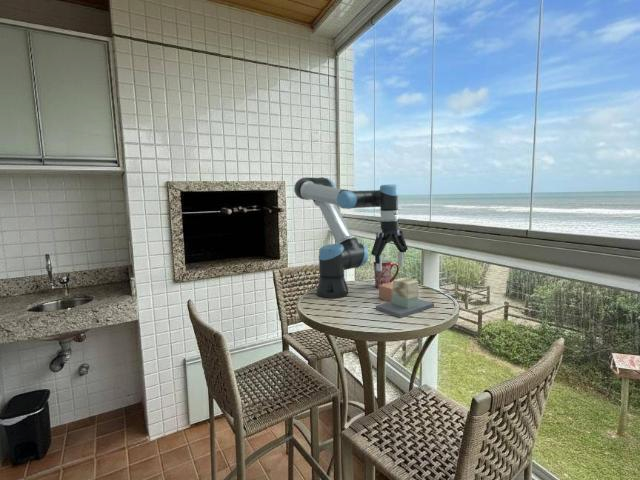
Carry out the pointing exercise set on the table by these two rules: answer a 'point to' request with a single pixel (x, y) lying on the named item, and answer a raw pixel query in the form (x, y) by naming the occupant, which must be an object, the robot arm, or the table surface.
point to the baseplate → (403, 310)
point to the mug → (384, 273)
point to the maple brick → (405, 288)
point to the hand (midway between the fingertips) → (390, 268)
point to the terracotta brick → (386, 291)
